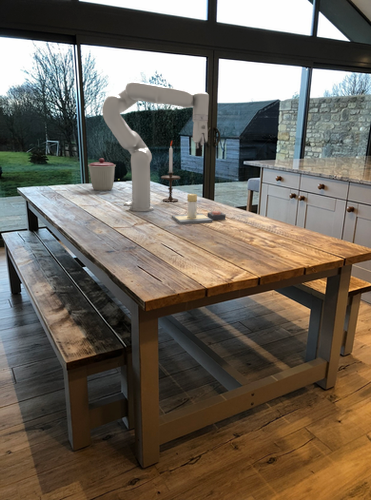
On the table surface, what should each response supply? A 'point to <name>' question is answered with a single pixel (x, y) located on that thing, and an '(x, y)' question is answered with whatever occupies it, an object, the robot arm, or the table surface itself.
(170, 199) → the candlestick
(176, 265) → the table surface
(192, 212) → the marker
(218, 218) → the button housing
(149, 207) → the robot arm
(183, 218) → the board
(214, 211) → the button
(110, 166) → the canister
